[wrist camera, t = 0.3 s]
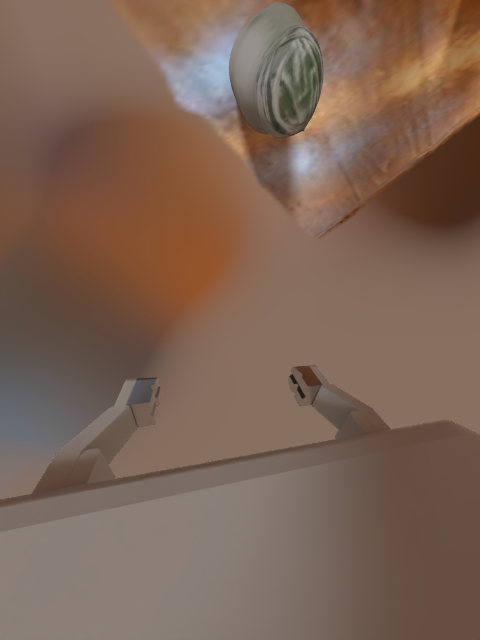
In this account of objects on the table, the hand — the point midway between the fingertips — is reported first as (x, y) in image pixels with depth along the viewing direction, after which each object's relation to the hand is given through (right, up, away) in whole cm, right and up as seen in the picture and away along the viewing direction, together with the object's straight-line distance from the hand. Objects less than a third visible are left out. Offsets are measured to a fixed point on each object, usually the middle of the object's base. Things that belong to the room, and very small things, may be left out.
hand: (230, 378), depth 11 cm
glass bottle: (+3, +50, +22) cm, 55 cm away
